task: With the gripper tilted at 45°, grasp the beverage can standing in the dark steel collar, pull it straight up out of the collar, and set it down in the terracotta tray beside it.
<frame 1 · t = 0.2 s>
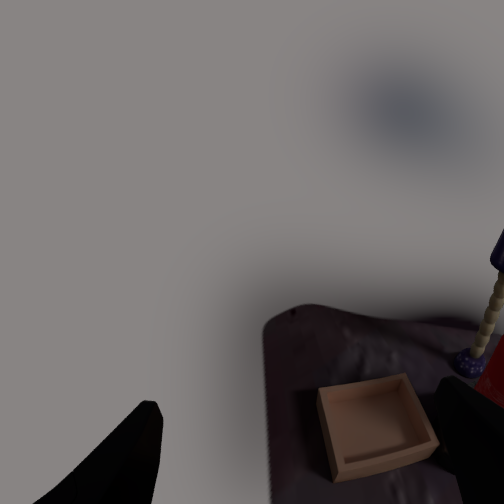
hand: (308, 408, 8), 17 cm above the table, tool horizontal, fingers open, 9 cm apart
terracotta tray: (371, 432, 22), on the table
beverage can: (467, 439, 19), resting in steel collar
steel collar: (468, 438, 19), on the table
toy lamp: (469, 365, 27), on the table
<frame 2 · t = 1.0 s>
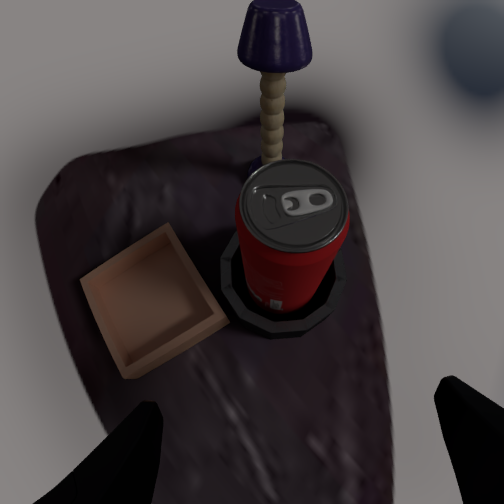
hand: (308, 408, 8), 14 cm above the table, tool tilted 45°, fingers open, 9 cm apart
terracotta tray: (155, 305, 24), on the table
beverage can: (280, 285, 24), resting in steel collar
steel collar: (280, 284, 24), on the table
toy lamp: (272, 175, 28), on the table
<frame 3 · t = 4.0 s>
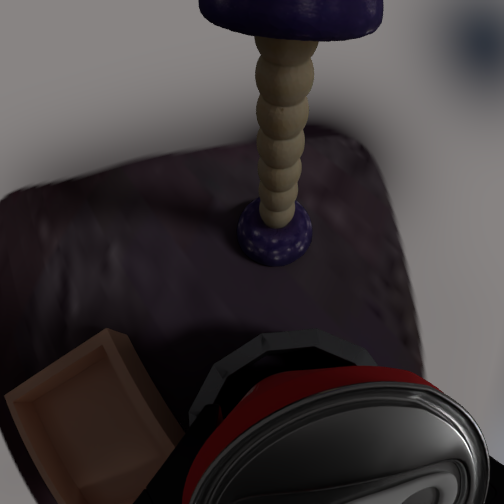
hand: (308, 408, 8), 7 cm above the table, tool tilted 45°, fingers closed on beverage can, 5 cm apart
terracotta tray: (106, 436, 13), on the table
beverage can: (289, 419, 14), resting in steel collar, touching gripper
steel collar: (289, 420, 14), on the table
toy lamp: (277, 228, 18), on the table
when the fingers open (8 cm above the table, at t = 8.1 s): beverage can drops 1 cm, resting on terracotta tray.
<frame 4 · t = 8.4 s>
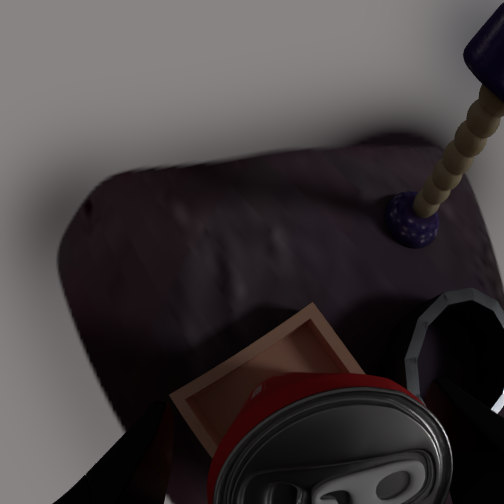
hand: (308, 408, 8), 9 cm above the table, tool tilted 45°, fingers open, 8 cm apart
terracotta tray: (287, 414, 16), on the table
beverage can: (290, 416, 15), resting on terracotta tray
steel collar: (438, 367, 16), on the table
toy lamp: (411, 218, 20), on the table
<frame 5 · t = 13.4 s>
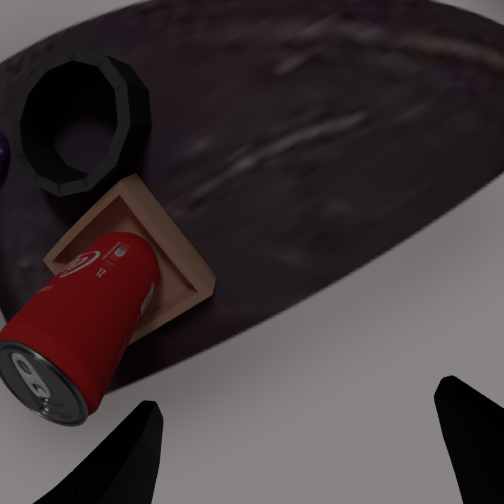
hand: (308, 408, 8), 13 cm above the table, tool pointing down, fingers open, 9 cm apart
terracotta tray: (130, 260, 21), on the table
beverage can: (129, 260, 20), resting on terracotta tray
steel collar: (91, 120, 17), on the table
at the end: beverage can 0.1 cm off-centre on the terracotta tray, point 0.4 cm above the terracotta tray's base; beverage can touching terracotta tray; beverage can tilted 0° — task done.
